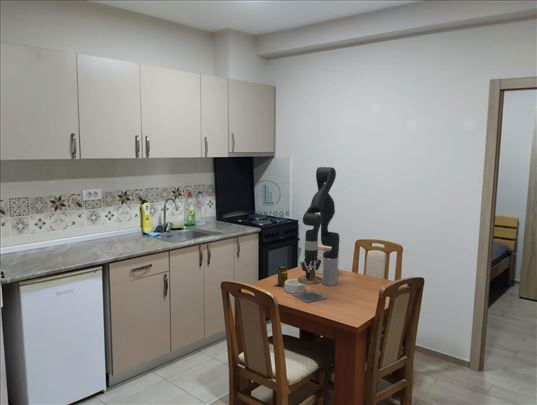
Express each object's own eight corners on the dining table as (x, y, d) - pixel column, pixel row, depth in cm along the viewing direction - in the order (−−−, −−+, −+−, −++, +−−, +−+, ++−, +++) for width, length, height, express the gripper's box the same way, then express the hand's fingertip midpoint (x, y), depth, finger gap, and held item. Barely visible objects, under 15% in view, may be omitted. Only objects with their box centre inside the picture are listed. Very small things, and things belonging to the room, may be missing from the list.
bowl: (297, 286, 263) (297, 278, 263) (308, 291, 253) (309, 283, 252) (281, 289, 257) (281, 281, 257) (292, 294, 247) (292, 286, 246)
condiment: (290, 286, 262) (290, 267, 261) (278, 288, 258) (279, 269, 256) (283, 283, 268) (283, 265, 267) (272, 285, 264) (272, 266, 262)
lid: (313, 276, 252) (313, 266, 251) (327, 282, 240) (327, 272, 239) (293, 279, 245) (293, 268, 244) (307, 286, 233) (307, 275, 232)
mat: (312, 291, 253) (312, 290, 253) (327, 299, 241) (327, 297, 241) (293, 295, 246) (293, 294, 246) (306, 303, 234) (306, 301, 234)
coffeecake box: (338, 274, 289) (339, 246, 287) (333, 277, 284) (334, 248, 281) (319, 270, 298) (320, 243, 296) (314, 272, 293) (315, 245, 291)
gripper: (317, 245, 247) (316, 274, 249) (297, 248, 240) (296, 277, 242) (325, 248, 240) (324, 278, 242) (304, 250, 233) (303, 281, 235)
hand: (310, 277), depth 242 cm, fingers closed on lid, 3 cm apart
